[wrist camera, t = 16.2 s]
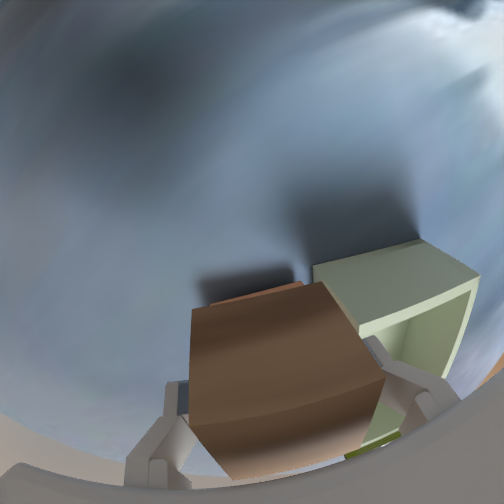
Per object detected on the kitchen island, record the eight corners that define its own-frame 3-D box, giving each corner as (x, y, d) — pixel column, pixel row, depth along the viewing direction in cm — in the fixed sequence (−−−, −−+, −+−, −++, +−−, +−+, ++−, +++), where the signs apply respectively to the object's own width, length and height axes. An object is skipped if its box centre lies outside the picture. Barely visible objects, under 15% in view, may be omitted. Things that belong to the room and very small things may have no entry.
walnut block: (192, 309, 10) (188, 426, 5) (321, 281, 10) (386, 377, 6) (222, 388, 12) (232, 480, 8) (322, 365, 12) (359, 448, 8)
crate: (312, 265, 23) (359, 325, 15) (420, 238, 24) (480, 274, 16) (316, 403, 30) (338, 455, 23) (396, 373, 31) (426, 415, 24)
